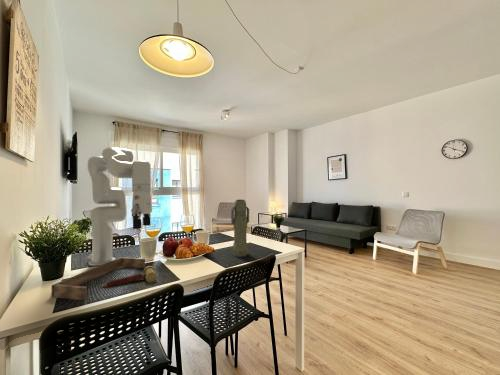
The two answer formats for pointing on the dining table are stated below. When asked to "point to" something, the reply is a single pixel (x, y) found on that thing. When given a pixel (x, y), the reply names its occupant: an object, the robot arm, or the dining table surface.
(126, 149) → the robot arm
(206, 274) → the dining table surface
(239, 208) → the tall olive-grey vase
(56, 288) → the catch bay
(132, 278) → the gavel
